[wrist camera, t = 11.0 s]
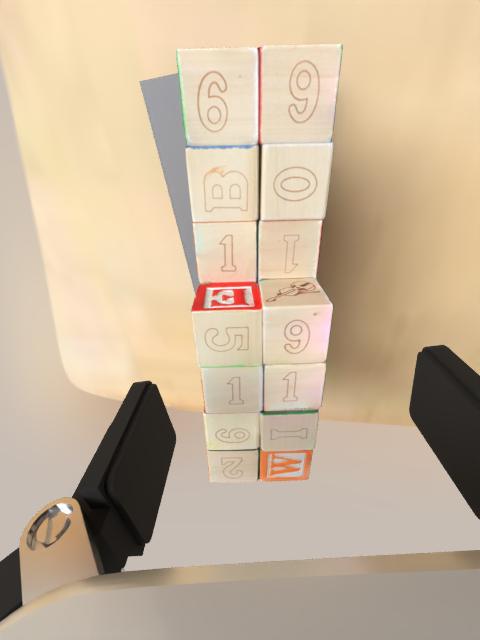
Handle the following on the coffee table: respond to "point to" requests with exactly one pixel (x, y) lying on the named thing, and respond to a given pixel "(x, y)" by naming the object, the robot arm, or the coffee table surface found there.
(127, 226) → the coffee table surface
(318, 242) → the stack of blocks
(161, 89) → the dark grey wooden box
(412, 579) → the robot arm
